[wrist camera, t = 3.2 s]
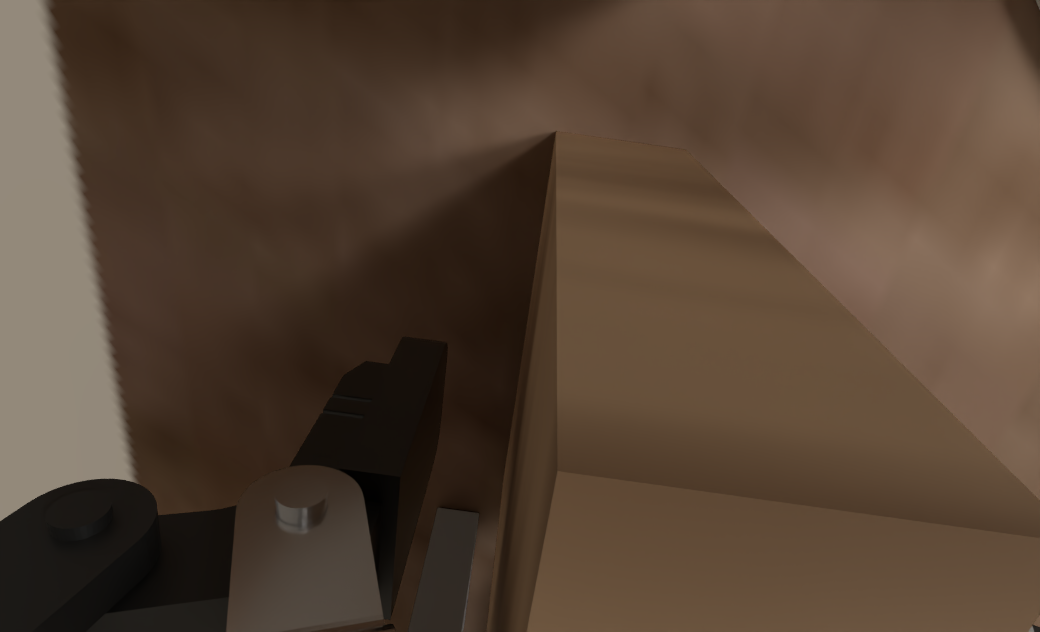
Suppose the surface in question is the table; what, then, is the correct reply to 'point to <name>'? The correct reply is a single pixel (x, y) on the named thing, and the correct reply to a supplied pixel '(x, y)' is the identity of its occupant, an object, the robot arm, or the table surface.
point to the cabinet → (446, 573)
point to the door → (730, 436)
